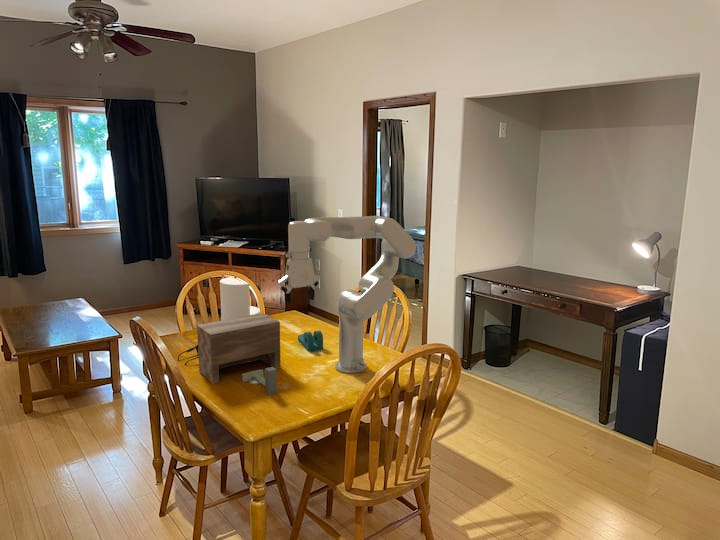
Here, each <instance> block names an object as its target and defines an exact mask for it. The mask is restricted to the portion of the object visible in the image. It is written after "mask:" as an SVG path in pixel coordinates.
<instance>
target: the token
mask: <svg viewBox="0 0 720 540" xmlns="http://www.w3.org/2000/svg"><path fill="white" fill-rule="evenodd" d="M249 384H250V385H261V384H262V383H261V382H260V381H258V380H257V379H256V378H254V377H252V378H250V379H249Z"/></svg>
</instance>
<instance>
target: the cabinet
mask: <svg viewBox="0 0 720 540" xmlns="http://www.w3.org/2000/svg"><path fill="white" fill-rule="evenodd" d="M196 331H197V332H196V334H197V345H198V353H197V354H198V357H199V358H198V371H199V373H200V374H201V373H202V374H201V375H203V376H204V378H206V379H207V380H208V381H209V382H210V383H211V382H212V384H213V385H215V384H218V383H220V372H219V371H220V369H224V368H229V367H232V366H233V367H234V366H236V365H241V364H246V363H251V362H255V361H259V360H262V361H263V362H265V363H266V364H268V365H269V366H271V367H274V368H275V369H276V370H277V369H279V368H281V366H282V365H281V363H282V361H281V322H280V321H279V320H277V319H275V318H273V317H271V316H270V315H268V314H266V313H264V312H263V313H260V314H256V315H251V316H245V317H239V318H234V319H228V320H217V321H212V322H207V323H201V324H196ZM214 383H215V384H214Z"/></svg>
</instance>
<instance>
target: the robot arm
mask: <svg viewBox="0 0 720 540" xmlns="http://www.w3.org/2000/svg"><path fill="white" fill-rule="evenodd" d="M287 232H288V252H287V253H285V258H287V261H286V266H285V273H284V275H285V276H283V277H282V278H281V279H279V280H278V281H277V285H278V286H279V289H280V290H281V291H282V292H283V294H284V302H285V303H286V304H288V305H291V304H292V293H291V291H292V289H297V288H298V289H300V288H305V287H308V288H307V298H308V300H311V301H314V300H315V290H316V289H317V286H318V285H319V282H320V280H321V276H320V275H317V274H315V271H314V263H313V260H312V258H311V257H310V251H311V250H310V249H311V247H310V242H311V241H312V242H324V241H325V242H326V241H328V240H329V239H331V238H332V237H333V238H341V239H344V240H345V239H346V240H360V239H381V240H382V241H381V253H380V258H379V260H378V261H377V262H376V263H375V264H374V265H373V266H372V267H371V268H370V269H369V270H368V271H367V272H366V273H365V274H364V275H363V276H362V277H361V278H360V279H359V282H358V285H357V286H358V289H359V291H360V292H359V291H357V290H354V289H345V290H343V291H342V292H341V293H340V294H339V295H338V297H337V300H336V308H337V312H338V313H337V314H338V325H339V326H338V328H339V329H338V361H336V362H335V364H334V368H335V370H336V371H339V372H340V373H346V374H356V373H361V372H363V371H365V370H366V369H368V365H367V363H366V362H365V358H364V321H367V320H369V319H370V318H372V317H373V316H374V315H375V314H377V312H378V311H379V310H380V309H381V308H383V306H384V305H385V304H386V303H387V302H388V301H390V299H391V298H392V296H393V294H394V291H395V284H394V282H393V280H392V279H393V277H394V276H395V275H396V273H397V272H398V269H399V264H400V263H399V261H400V258H401V259H410V258H412V257H413V256H414V255H415V253H416V250H417V245H416V242H415V239H414V238H412V236H411V235H410V234H409V233H408V232H407V230H406V229H404V228H403V226H402V225H400V223H399V222H397V221H396V220H395V219H394V218H391V217H387V216H381V215H369V216H368V215H367V216H366V215H365V216H338V217H337V216H336V217H335V216H332V217H331V216H330V217H329V216H328V217H327V216H325V217H309V218H306V219H305V220H295V221H294V220H293V221H290V222H289V223H288V228H287ZM284 284H285V286H284Z"/></svg>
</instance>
